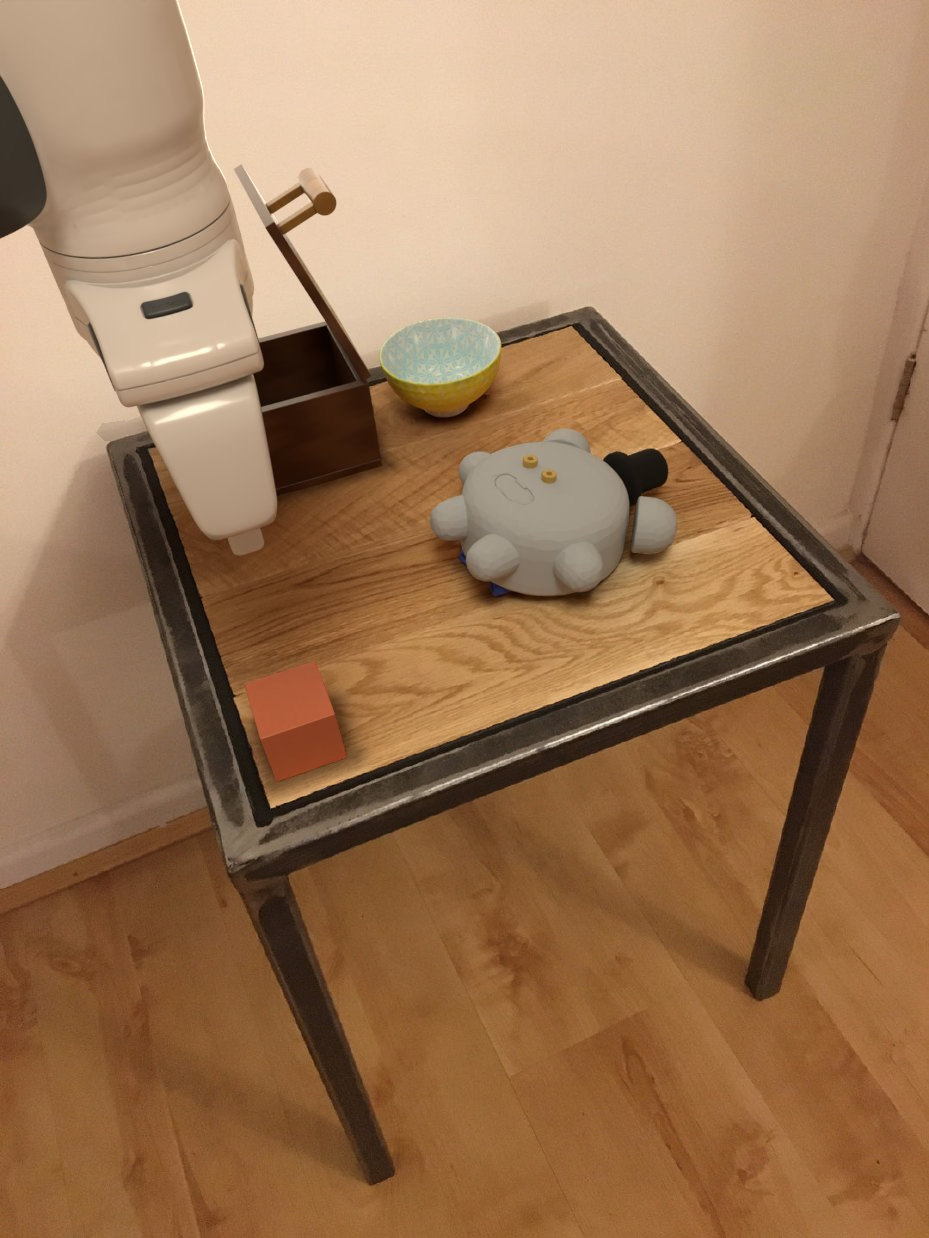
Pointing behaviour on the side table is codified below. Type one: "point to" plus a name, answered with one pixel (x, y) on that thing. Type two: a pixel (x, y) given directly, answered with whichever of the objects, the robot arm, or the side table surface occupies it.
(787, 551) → the side table surface
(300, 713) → the block
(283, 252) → the lid
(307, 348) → the chest
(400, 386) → the bowl
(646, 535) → the figurine
